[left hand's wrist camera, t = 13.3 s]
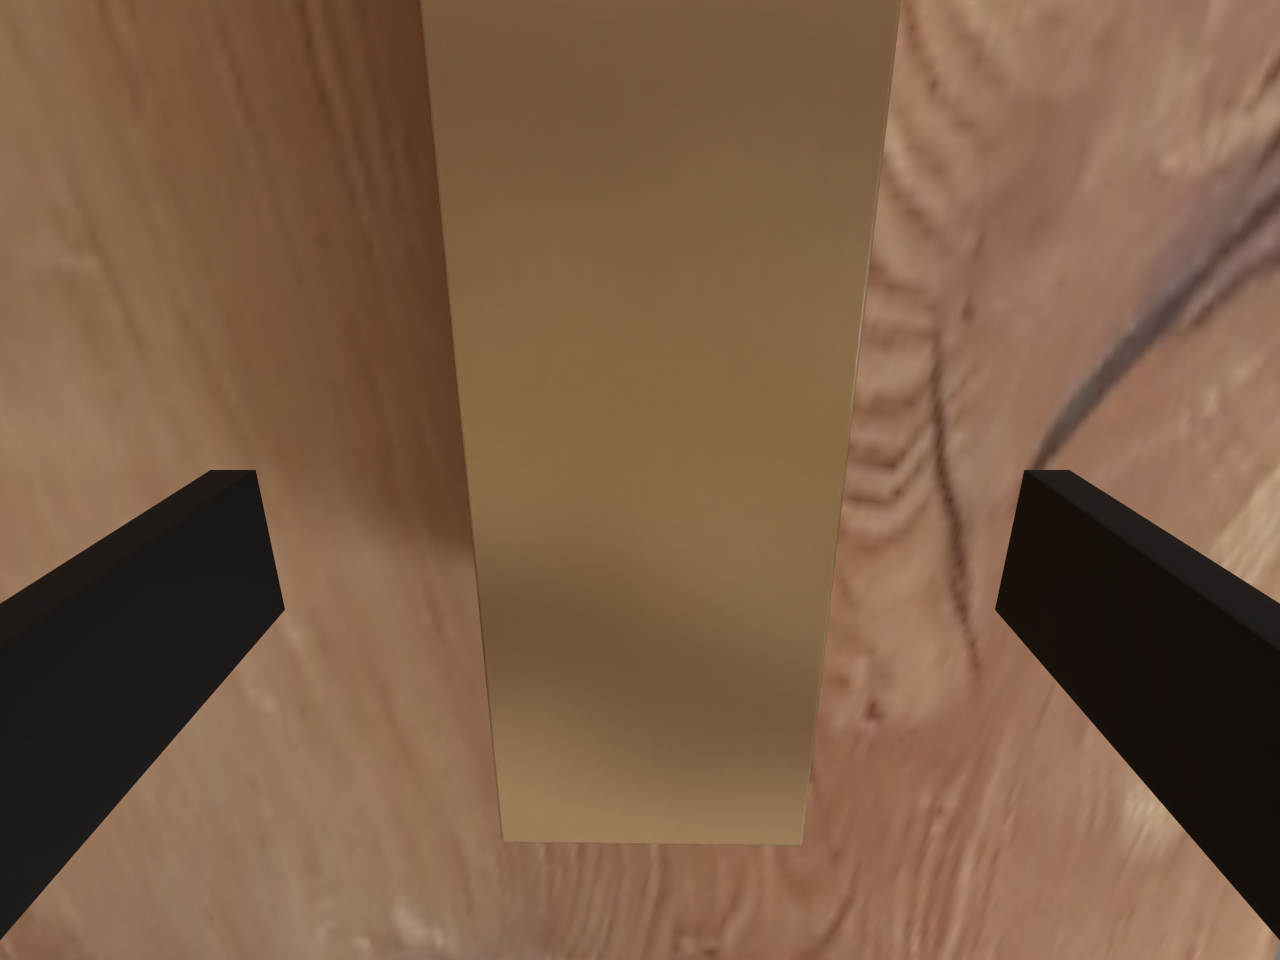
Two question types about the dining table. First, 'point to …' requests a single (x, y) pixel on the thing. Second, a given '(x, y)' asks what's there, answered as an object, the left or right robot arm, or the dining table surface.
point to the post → (656, 389)
